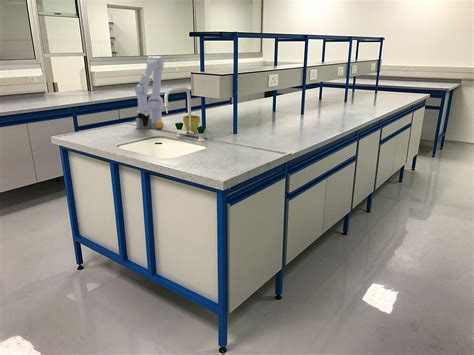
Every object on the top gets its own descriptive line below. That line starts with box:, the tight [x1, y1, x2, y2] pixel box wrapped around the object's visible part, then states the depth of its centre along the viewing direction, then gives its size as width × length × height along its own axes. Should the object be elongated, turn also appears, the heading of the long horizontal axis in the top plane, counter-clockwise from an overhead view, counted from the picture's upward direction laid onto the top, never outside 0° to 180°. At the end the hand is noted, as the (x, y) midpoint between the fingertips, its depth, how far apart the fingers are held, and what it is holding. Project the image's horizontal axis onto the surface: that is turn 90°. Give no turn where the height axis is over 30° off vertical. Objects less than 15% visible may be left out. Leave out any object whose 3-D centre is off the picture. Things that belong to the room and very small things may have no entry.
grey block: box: [135, 117, 153, 130], centre depth 243 cm, size 6×8×6 cm
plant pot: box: [182, 114, 201, 133], centre depth 231 cm, size 10×10×10 cm
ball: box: [154, 120, 164, 129], centre depth 242 cm, size 5×5×5 cm
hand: (144, 125), depth 244 cm, fingers closed on grey block, 6 cm apart
